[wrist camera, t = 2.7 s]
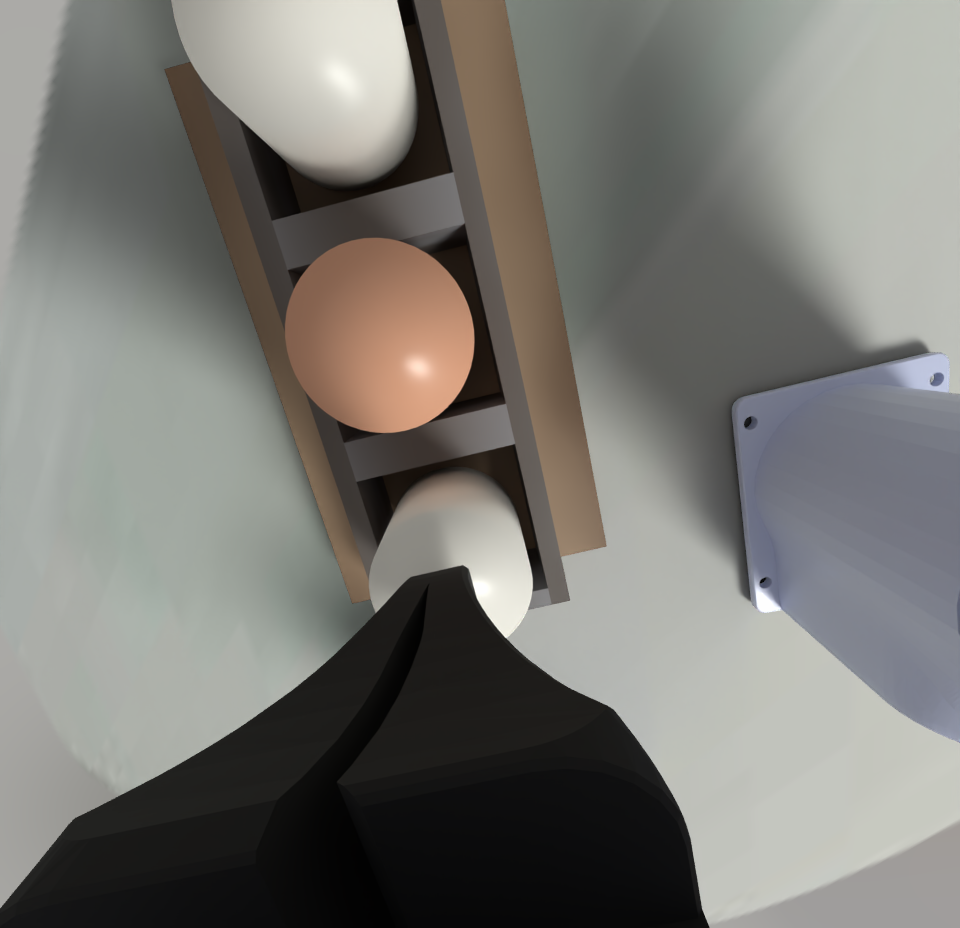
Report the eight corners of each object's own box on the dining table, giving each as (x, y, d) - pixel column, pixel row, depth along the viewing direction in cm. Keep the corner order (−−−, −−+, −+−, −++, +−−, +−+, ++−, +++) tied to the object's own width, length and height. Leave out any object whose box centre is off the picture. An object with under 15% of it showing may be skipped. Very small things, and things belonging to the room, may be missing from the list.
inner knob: (529, 567, 16) (547, 638, 12) (413, 594, 16) (394, 671, 12) (502, 453, 15) (513, 492, 11) (378, 482, 15) (347, 531, 11)
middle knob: (488, 390, 14) (493, 409, 10) (359, 421, 14) (320, 451, 11) (455, 248, 13) (447, 215, 9) (316, 284, 13) (257, 265, 10)
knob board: (496, 19, 15) (506, -128, 10) (593, 525, 20) (632, 586, 15) (202, 102, 16) (82, -2, 11) (363, 578, 20) (329, 653, 16)
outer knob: (435, 169, 13) (421, 101, 9) (292, 208, 13) (220, 157, 9) (393, -10, 12) (357, -169, 8) (238, 34, 12) (133, -101, 8)
